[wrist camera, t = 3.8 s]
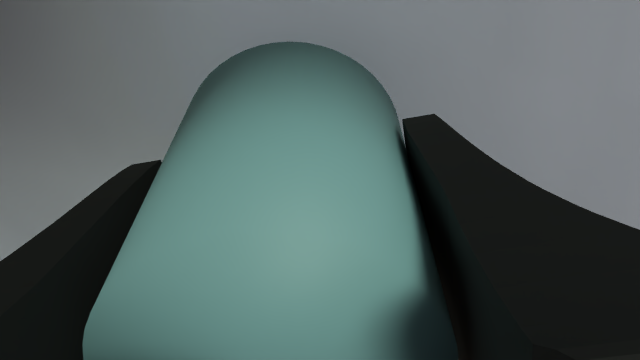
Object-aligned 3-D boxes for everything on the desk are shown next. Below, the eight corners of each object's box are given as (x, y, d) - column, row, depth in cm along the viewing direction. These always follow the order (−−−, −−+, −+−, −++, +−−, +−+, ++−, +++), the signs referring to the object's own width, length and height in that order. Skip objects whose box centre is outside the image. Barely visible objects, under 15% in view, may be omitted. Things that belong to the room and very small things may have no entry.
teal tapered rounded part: (330, 257, 14) (335, 502, 9) (153, 178, 12) (39, 416, 7) (444, 111, 11) (540, 332, 6) (242, -4, 10) (164, 161, 5)
